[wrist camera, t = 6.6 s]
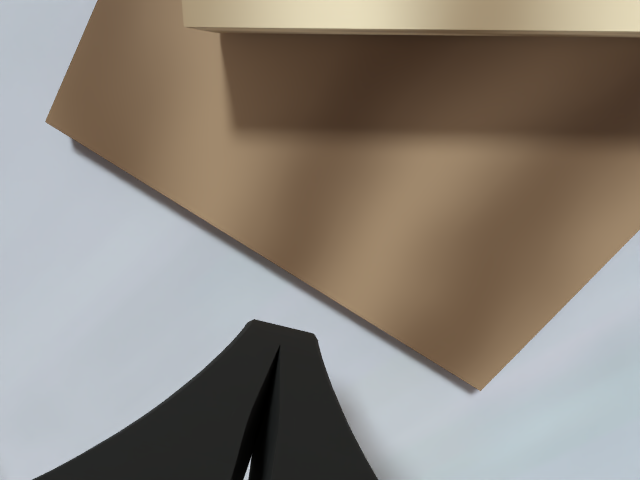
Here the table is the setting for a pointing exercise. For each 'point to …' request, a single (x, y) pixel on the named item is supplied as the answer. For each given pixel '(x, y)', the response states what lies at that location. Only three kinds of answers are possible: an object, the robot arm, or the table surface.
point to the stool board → (381, 162)
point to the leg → (417, 17)
